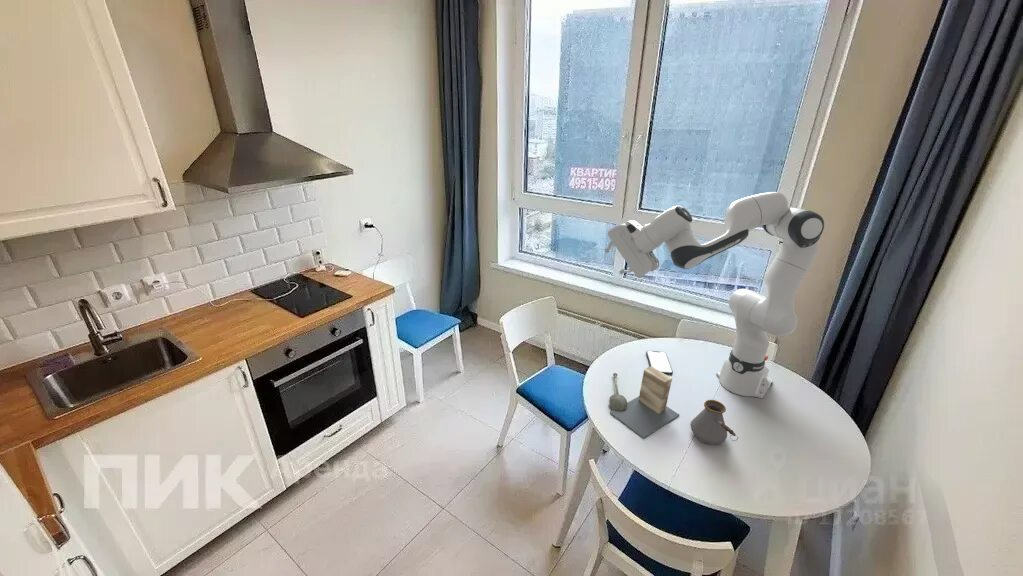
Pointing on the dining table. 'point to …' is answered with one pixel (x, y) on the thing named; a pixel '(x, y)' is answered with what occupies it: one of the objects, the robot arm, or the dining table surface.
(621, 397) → the soupspoon
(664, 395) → the brown wooden block
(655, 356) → the smartphone
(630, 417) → the charcoal rubber mat
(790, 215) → the robot arm
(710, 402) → the coffee pot
